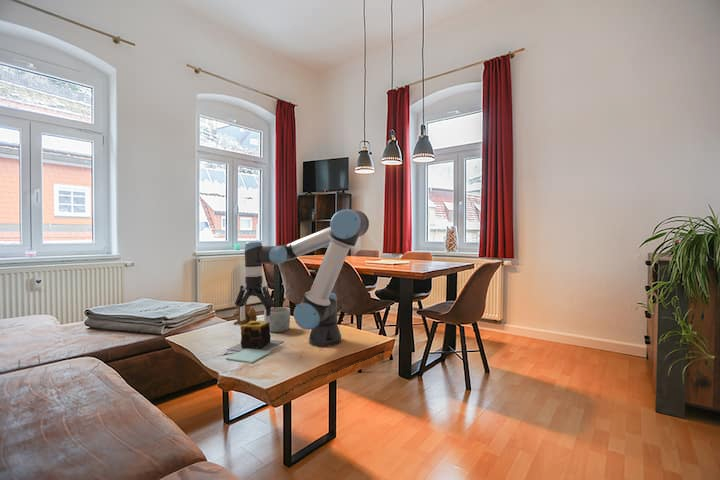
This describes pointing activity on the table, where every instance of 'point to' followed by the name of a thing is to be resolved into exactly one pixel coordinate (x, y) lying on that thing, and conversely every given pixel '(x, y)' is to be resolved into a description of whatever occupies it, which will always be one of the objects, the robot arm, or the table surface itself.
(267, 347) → the gray mat
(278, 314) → the planter
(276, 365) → the table surface
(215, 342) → the table surface
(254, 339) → the candle
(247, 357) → the pad
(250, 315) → the stuffed squirrel
